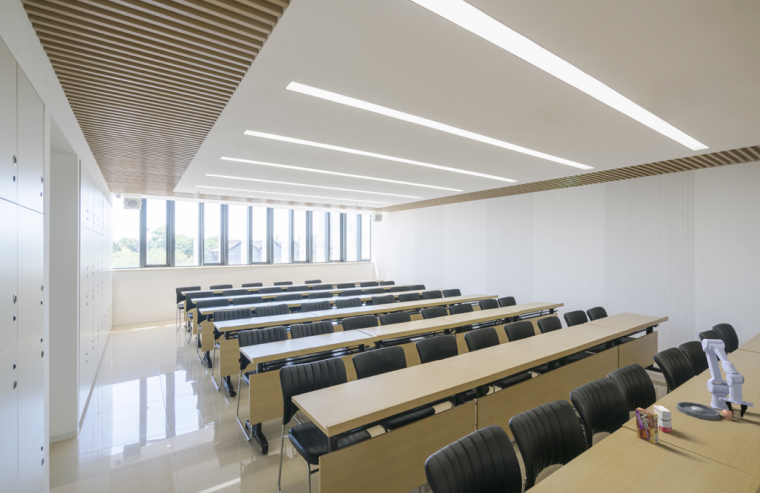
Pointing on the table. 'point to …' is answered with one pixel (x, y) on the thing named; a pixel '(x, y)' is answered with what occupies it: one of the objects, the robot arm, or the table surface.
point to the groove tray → (698, 410)
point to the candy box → (647, 425)
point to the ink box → (663, 418)
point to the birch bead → (736, 414)
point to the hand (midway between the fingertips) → (736, 415)
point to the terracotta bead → (727, 414)
